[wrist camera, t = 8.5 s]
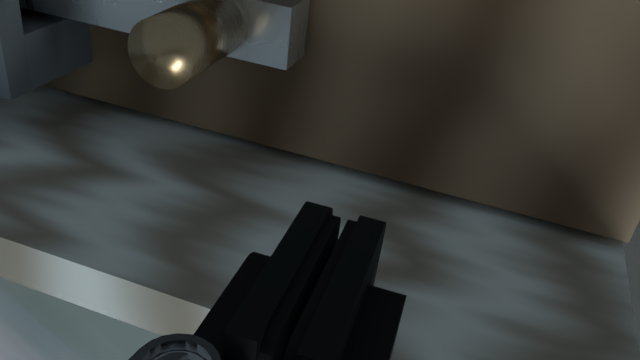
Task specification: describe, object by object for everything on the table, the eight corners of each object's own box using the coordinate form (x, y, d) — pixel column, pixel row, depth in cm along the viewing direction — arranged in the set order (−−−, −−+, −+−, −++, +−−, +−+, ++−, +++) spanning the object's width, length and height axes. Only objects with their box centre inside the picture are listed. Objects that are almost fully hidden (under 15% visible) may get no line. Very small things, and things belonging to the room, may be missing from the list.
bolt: (21, -10, 28) (-95, 22, 23) (13, -65, 27) (-112, -43, 22) (304, 54, 25) (240, 109, 20) (310, -5, 23) (244, 38, 18)
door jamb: (16, 98, 34) (-202, 204, 24) (-34, -201, 27) (-380, -223, 17) (603, 262, 27) (628, 504, 17) (762, -84, 20) (969, -3, 10)
